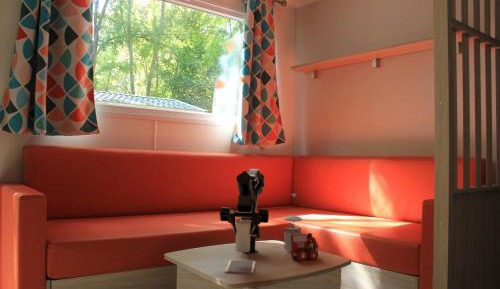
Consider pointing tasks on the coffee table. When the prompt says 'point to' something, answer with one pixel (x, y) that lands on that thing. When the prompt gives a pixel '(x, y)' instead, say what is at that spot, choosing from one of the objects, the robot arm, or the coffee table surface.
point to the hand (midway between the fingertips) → (242, 233)
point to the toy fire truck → (304, 247)
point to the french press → (291, 231)
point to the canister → (243, 235)
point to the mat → (240, 267)
